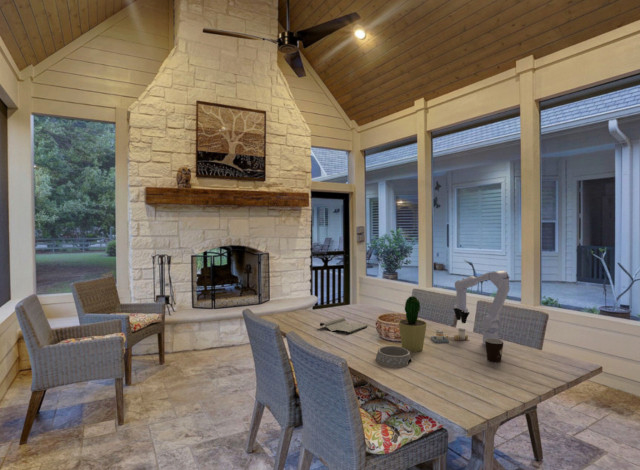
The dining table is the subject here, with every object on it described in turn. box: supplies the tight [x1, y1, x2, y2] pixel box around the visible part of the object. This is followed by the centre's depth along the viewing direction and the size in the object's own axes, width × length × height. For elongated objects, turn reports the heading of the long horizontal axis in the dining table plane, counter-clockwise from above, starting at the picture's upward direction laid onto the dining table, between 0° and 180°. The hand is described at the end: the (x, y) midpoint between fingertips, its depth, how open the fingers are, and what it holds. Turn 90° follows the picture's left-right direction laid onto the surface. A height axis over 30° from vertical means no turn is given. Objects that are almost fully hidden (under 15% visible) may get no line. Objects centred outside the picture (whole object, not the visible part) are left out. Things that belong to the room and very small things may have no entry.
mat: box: [319, 316, 369, 334], centre depth 254 cm, size 23×24×5 cm
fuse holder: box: [444, 334, 471, 342], centre depth 227 cm, size 7×14×3 cm, turn 93°
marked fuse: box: [435, 329, 444, 340], centre depth 224 cm, size 4×4×6 cm
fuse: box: [457, 327, 466, 340], centre depth 227 cm, size 4×4×6 cm
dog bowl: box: [375, 345, 413, 368], centre depth 194 cm, size 17×18×5 cm
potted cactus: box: [398, 296, 428, 353], centre depth 212 cm, size 15×15×30 cm
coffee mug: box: [485, 339, 505, 363], centre depth 194 cm, size 12×9×10 cm
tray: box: [430, 335, 450, 344], centre depth 224 cm, size 8×8×2 cm
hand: (461, 321), depth 233 cm, fingers open, 7 cm apart
